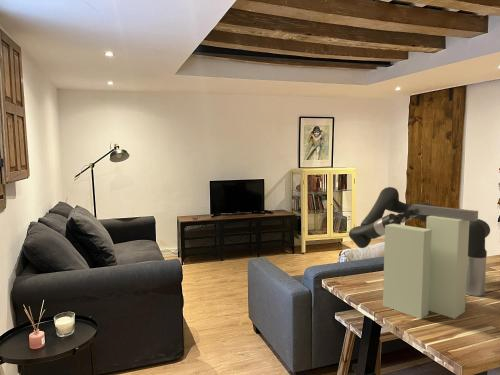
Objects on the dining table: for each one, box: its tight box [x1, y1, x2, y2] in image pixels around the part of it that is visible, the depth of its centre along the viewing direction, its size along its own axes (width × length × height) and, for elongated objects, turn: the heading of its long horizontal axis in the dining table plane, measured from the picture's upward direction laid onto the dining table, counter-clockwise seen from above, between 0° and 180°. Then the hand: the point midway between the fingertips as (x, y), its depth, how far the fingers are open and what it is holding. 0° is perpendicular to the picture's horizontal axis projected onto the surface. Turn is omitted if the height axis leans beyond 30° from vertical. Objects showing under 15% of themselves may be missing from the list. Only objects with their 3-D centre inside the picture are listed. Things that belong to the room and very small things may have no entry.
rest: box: [382, 224, 432, 320], centre depth 147 cm, size 6×16×34 cm, turn 39°
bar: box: [411, 203, 479, 221], centre depth 146 cm, size 4×24×4 cm, turn 39°
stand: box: [425, 216, 469, 319], centre depth 147 cm, size 10×12×38 cm
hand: (418, 210), depth 154 cm, fingers open, 8 cm apart
